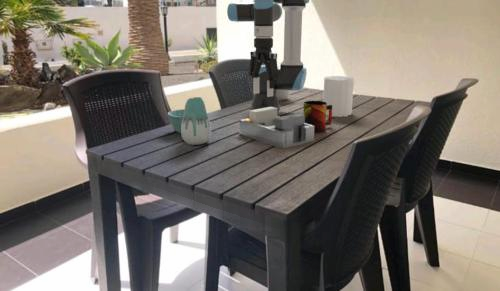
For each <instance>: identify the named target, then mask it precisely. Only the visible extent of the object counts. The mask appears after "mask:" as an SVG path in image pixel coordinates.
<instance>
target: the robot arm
mask: <svg viewBox="0 0 500 291" xmlns="http://www.w3.org/2000/svg"><path fill="white" fill-rule="evenodd" d="M309 3H310V0H241V1H239V2H230V3H229V4H228V6H227V8H226V9H227V10H226V13H227V17H228V20H229V21H231V22H235V23H239V22H243V23H244V22H247V23H248V22H253V25H254V26H253V36H254V37H255V38H253V47H254V48H255V51H254V50H253V51H250V53H249V54H250V62H249V71H248V75H249V76H250V77H251V78H252V86H253V87H252V88H253V91H252V92H253V98H252V102H251V104H250V105H251V110H255V109H261V108H266V107H275V108H277V111H278V110H280V108H281V107H280V102H279V101H278V97H277V90H291V91H292V92H293V91H294V92H295V91H301V90H303V88H304V86H305V83H306V78H307V73H308V72H307V68H306V67H304V63H303V61H301V55H302V54H301V53H302V33H303V32H302V30H303V29H302V27H303V11H304V10H305V8H306V7H307V4H309ZM280 4H281V5H280ZM283 10H284V31H283V32H284V33H283V35H284V36H283V60H282V61H281V63H279V64H280V65H279V66H278V53H276V52H275V53H274V52H273V51H272V48H273V46H274V39H273V37H274V22H277V21H278V20H280V19H281V17H282V15H283Z"/></svg>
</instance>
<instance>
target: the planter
mask: <svg viewBox="0 0 500 291" xmlns="http://www.w3.org/2000/svg"><path fill="white" fill-rule="evenodd" d="M291 91H292V90H277V97H278V101H280V102H281V101H285V100H287V99H288V98H290V95H291Z"/></svg>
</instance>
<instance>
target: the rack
mask: <svg viewBox="0 0 500 291" xmlns="http://www.w3.org/2000/svg"><path fill="white" fill-rule="evenodd" d="M238 134H239V135H242V136H245V137H248V138H250V139H254V140H256V141H260V142H262V143H265V144H267V145H268V144H269V145H270V146H271V145H272V146H274V147H277V148H281V149H282V150H283V149H284V150H285V149H288V148H292V147H296V146H299V145H303V144H307V143H311V142H314V141H315V140H316V138H315V133H314V125H310V124H307V123H305V115H303V114H302V113H292V114H288V115H284V116H279V115H277V118H275V119H274V126H269V127H266V126H265V123H264V122H257V123H253V121H251V120H249V117H247V118H243V119H239V131H238Z"/></svg>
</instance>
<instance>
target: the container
mask: <svg viewBox="0 0 500 291" xmlns="http://www.w3.org/2000/svg"><path fill="white" fill-rule="evenodd" d="M354 85H355V78H354V77H351V76H345V75H344V76H341V75H333V76H325V77H324V80H323V98H322V99H323V100H322V101H323V102H326V103H327V105H332V117H339V118H340V117H341V118H342V117H343V116H344V117H349V116H348V115H350V116H352V114H353V113H352V112H353V98H354ZM327 116H328V117H329V109H328V110H326V117H327Z"/></svg>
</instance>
